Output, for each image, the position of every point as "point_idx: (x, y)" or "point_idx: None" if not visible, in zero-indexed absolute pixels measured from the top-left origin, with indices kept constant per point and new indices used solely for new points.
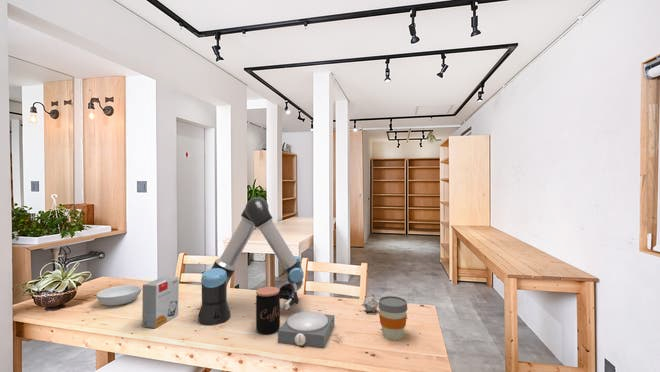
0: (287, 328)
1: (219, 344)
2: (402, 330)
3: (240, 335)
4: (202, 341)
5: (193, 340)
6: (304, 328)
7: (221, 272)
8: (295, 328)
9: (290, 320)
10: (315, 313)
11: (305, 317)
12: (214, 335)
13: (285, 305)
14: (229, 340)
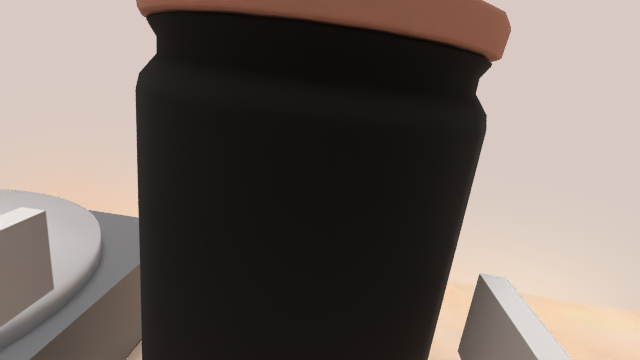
0: (115, 234)
1: (472, 285)
2: None
3: (443, 349)
4: (573, 304)
5: (624, 311)
6: (6, 194)
7: None
8: (67, 203)
9: (57, 257)
10: None
11: None
12: (594, 349)
13: (46, 232)
14: (458, 308)
